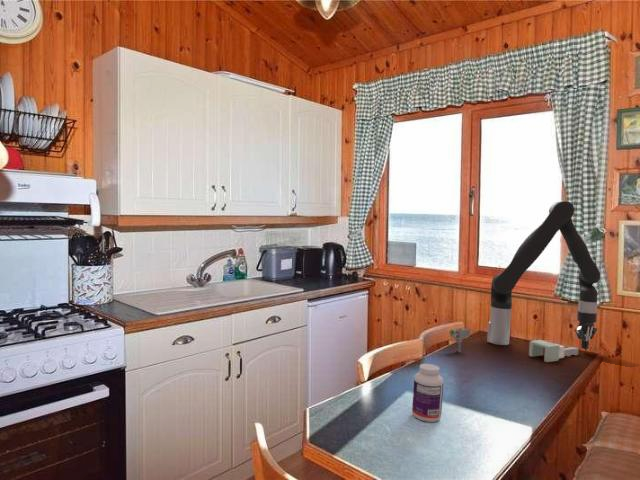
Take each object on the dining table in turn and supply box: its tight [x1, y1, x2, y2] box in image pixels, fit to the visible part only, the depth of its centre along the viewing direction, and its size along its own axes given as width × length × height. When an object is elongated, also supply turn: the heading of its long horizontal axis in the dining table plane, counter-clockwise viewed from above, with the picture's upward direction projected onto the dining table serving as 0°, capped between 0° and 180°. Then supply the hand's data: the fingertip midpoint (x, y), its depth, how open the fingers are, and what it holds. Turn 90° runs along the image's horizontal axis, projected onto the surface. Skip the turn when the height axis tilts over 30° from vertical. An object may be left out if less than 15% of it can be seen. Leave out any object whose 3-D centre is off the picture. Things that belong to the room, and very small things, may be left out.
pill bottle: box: [411, 363, 444, 423], centre depth 124 cm, size 8×8×14 cm
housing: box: [528, 339, 561, 363], centre depth 189 cm, size 7×9×6 cm
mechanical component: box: [449, 327, 471, 353], centre depth 192 cm, size 3×10×10 cm, turn 115°
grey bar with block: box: [555, 343, 579, 359], centre depth 194 cm, size 17×4×5 cm, turn 116°
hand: (584, 348), depth 201 cm, fingers closed
